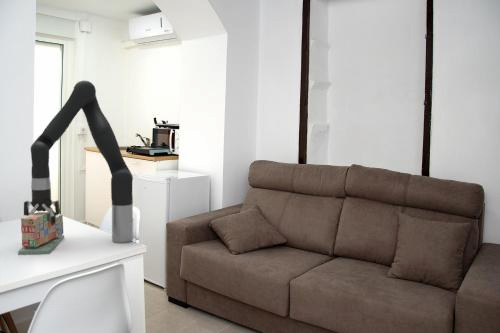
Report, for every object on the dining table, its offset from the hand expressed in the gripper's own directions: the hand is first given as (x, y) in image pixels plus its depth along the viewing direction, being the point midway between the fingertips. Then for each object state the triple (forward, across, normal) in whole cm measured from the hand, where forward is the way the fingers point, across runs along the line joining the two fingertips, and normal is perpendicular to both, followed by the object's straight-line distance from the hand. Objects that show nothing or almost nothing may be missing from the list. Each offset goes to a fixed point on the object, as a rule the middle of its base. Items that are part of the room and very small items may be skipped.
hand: (42, 224), depth 194 cm
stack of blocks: (+8, 0, -1) cm, 8 cm away
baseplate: (+10, 0, 0) cm, 10 cm away
